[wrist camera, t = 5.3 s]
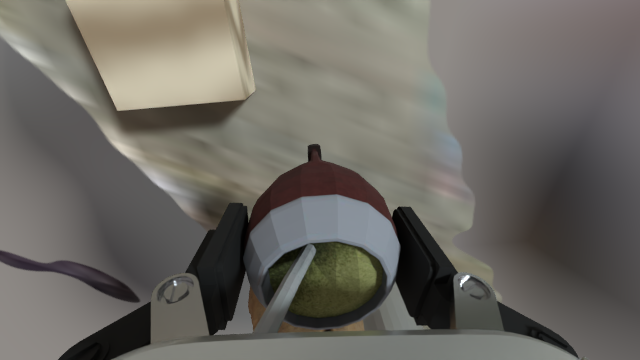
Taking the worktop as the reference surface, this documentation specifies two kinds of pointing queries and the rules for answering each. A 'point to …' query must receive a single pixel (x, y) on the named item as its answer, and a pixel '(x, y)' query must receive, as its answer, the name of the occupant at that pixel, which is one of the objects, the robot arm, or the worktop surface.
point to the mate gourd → (320, 248)
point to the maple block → (167, 50)
